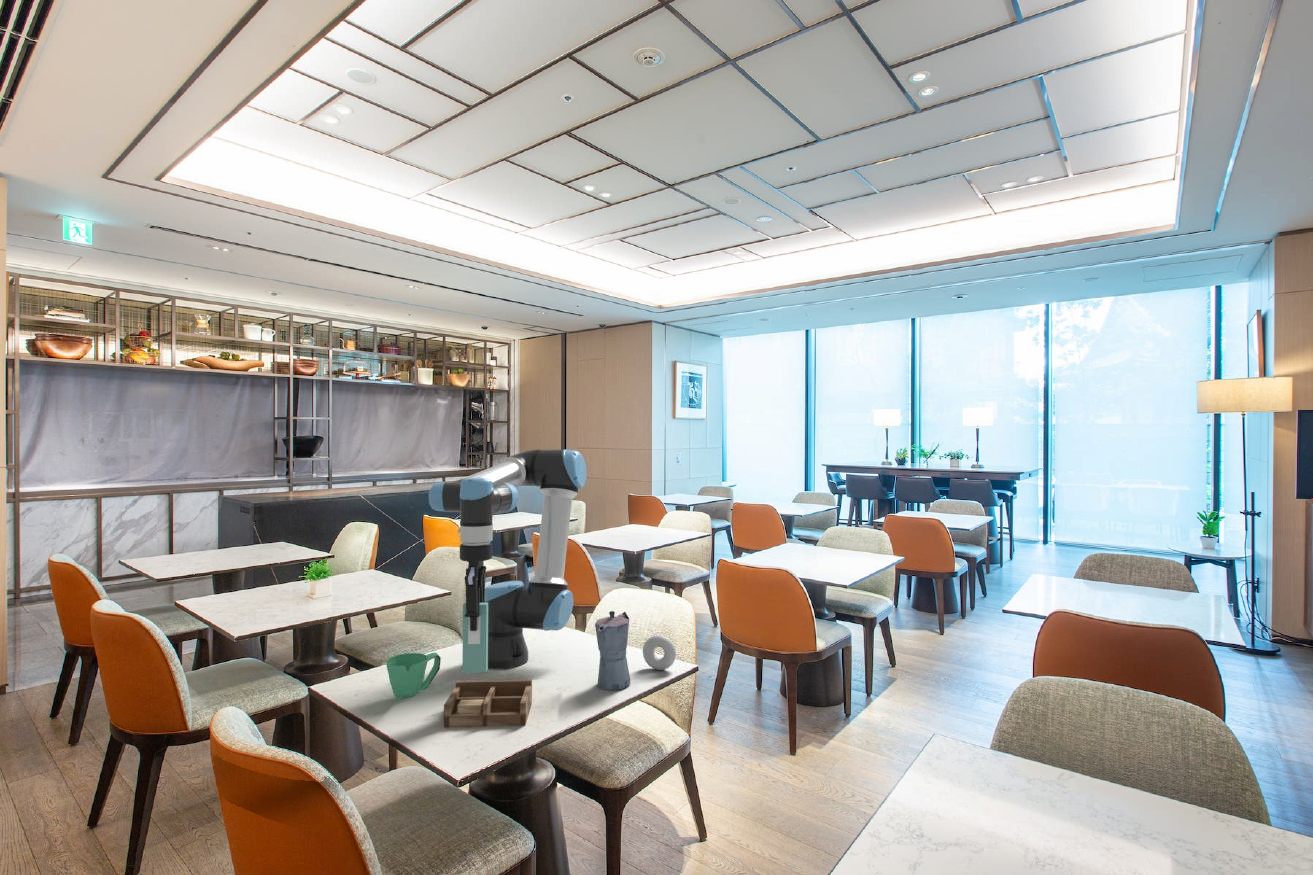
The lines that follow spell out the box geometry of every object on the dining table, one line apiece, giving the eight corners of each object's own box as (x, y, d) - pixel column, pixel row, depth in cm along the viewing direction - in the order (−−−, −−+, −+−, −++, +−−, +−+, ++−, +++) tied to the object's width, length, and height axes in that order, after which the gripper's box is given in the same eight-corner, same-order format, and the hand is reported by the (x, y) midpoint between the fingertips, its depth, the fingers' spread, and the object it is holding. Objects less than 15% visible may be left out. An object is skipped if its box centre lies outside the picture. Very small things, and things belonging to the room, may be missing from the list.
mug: (401, 709, 156) (402, 668, 156) (377, 700, 161) (378, 660, 162) (450, 690, 168) (451, 652, 168) (427, 682, 174) (427, 645, 174)
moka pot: (584, 691, 169) (585, 614, 169) (610, 672, 183) (611, 601, 183) (617, 696, 165) (618, 618, 165) (641, 676, 179) (641, 605, 180)
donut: (677, 669, 185) (677, 635, 186) (673, 673, 182) (674, 638, 182) (644, 665, 189) (645, 631, 189) (640, 669, 185) (641, 634, 186)
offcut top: (460, 708, 148) (460, 699, 148) (483, 708, 149) (483, 699, 149) (457, 714, 145) (457, 705, 145) (480, 713, 145) (481, 704, 146)
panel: (464, 669, 153) (464, 602, 153) (487, 669, 154) (488, 602, 154) (462, 672, 151) (462, 604, 151) (486, 672, 152) (486, 604, 152)
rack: (456, 711, 155) (456, 680, 155) (531, 710, 156) (532, 679, 156) (443, 734, 143) (444, 700, 143) (525, 732, 144) (525, 698, 144)
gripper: (467, 538, 160) (466, 632, 160) (452, 548, 145) (451, 652, 145) (497, 537, 160) (496, 632, 160) (486, 547, 145) (485, 651, 145)
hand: (475, 641), depth 152 cm, fingers closed on panel, 2 cm apart
